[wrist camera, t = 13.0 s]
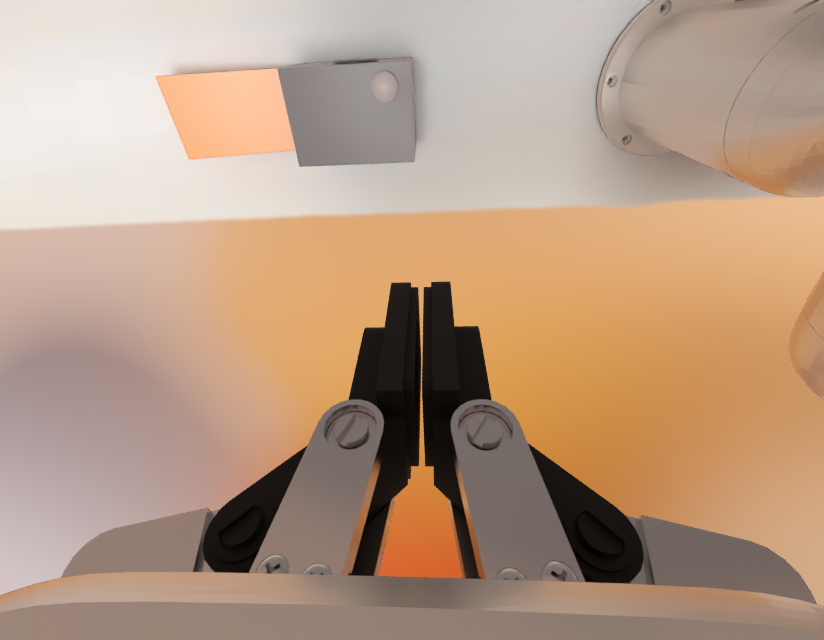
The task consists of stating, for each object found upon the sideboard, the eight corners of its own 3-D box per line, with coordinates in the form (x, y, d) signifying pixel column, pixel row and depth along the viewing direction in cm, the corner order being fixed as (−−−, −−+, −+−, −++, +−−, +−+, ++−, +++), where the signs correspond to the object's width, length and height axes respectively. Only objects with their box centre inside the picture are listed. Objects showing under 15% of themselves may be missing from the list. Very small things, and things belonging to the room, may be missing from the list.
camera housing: (412, 55, 32) (409, 58, 26) (416, 143, 36) (414, 163, 30) (302, 61, 32) (274, 66, 26) (318, 147, 37) (297, 168, 31)
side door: (295, 67, 31) (155, 76, 30) (311, 148, 35) (189, 159, 34) (296, 66, 32) (160, 75, 31) (312, 145, 36) (193, 156, 35)
